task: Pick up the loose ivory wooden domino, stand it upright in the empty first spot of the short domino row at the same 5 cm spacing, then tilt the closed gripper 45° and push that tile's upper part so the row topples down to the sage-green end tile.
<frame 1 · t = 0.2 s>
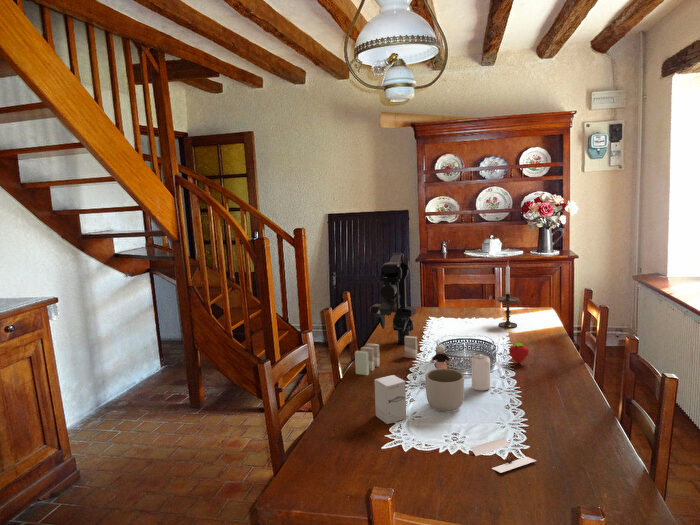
hand: (393, 330, 203), 14 cm above the table, fingers open, 9 cm apart
candlestick: (507, 326, 249), on the table
supplement box: (391, 418, 155), on the table
can: (481, 388, 175), on the table
strawberry: (518, 364, 197), on the table
grandmother figurine: (441, 377, 187), on the table
domino 3: (368, 369, 198), on the table
domino 2: (373, 365, 203), on the table
sage end domino: (362, 373, 194), on the table
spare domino: (411, 357, 210), on the table
planter: (445, 407, 161), on the table
pale pink flat slab: (503, 459, 130), on the table
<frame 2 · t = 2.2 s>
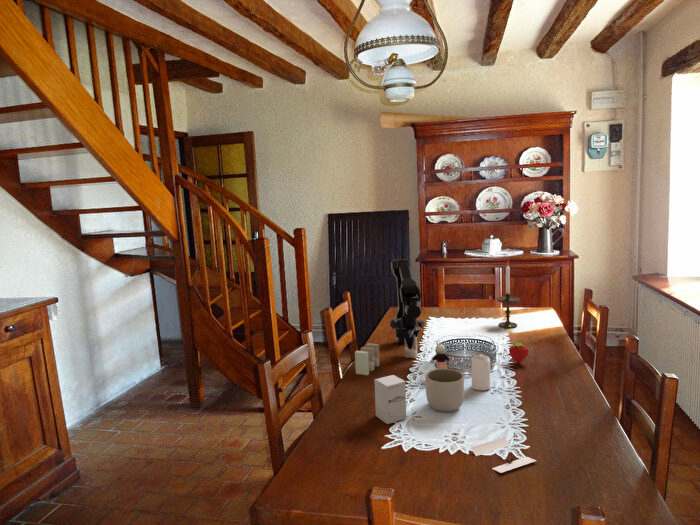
hand: (410, 348, 210), 4 cm above the table, fingers closed on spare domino, 2 cm apart
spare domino: (411, 357, 210), on the table, touching gripper
everything else where it was.
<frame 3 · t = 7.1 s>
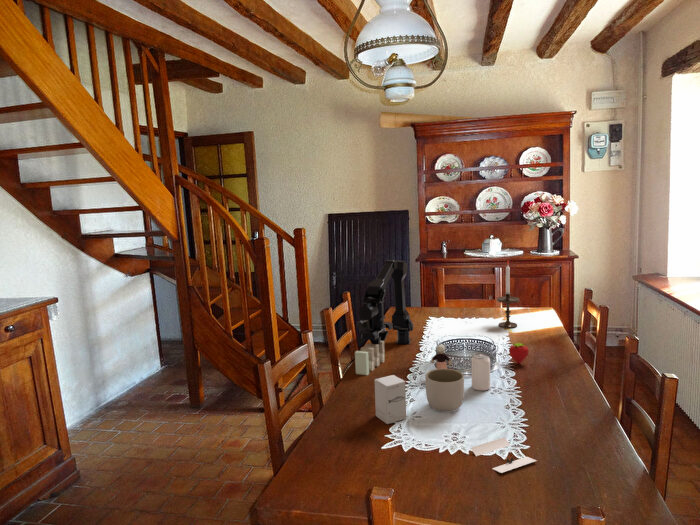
hand: (378, 350, 206), 5 cm above the table, fingers open, 4 cm apart
domino 2: (373, 365, 203), on the table, touching gripper
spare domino: (378, 361, 207), on the table
everything else where it was.
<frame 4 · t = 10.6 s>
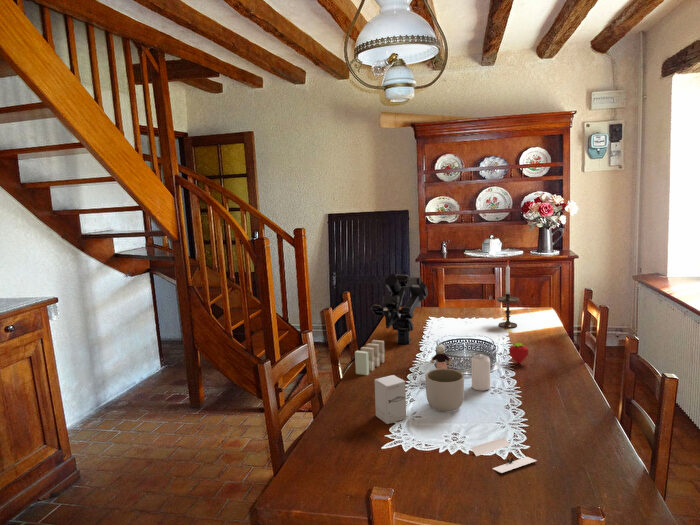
hand: (387, 328, 214), 12 cm above the table, fingers closed
domino 2: (373, 365, 203), on the table
everything else where it was.
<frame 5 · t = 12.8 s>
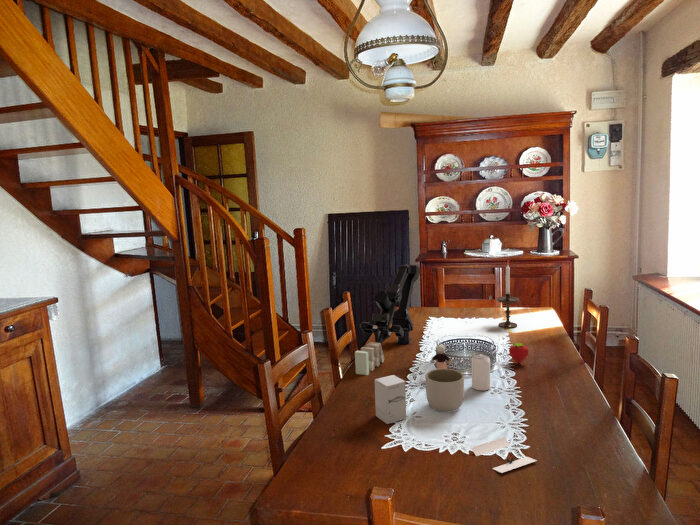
hand: (376, 346, 205), 7 cm above the table, fingers closed, pressing on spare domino
domino 2: (373, 365, 203), on the table, touching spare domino
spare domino: (378, 360, 207), on the table, tilted 22°, touching domino 2, gripper
everything else where it was.
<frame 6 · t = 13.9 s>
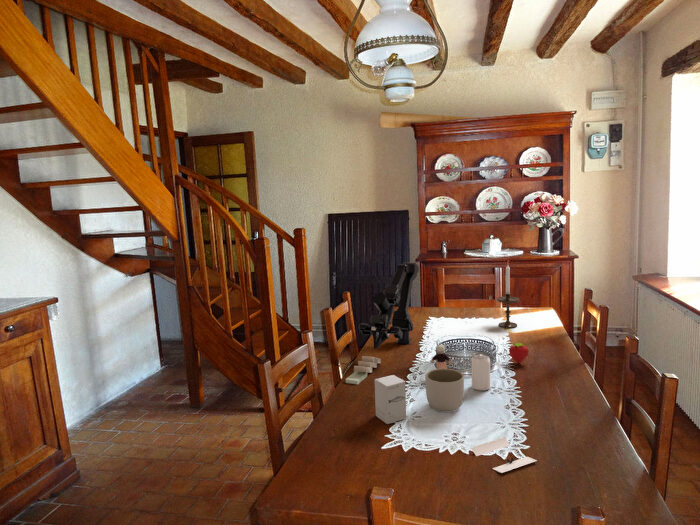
hand: (375, 348, 203), 7 cm above the table, fingers closed
domino 3: (366, 369, 196), point 1 cm above the table, tilted 69°, touching domino 2, sage end domino
domino 2: (371, 364, 201), point 1 cm above the table, tilted 68°, touching domino 3
sage end domino: (361, 374, 192), on the table, tilted 90°, touching domino 3
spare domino: (375, 360, 205), point 1 cm above the table, tilted 67°
everything else where it was.
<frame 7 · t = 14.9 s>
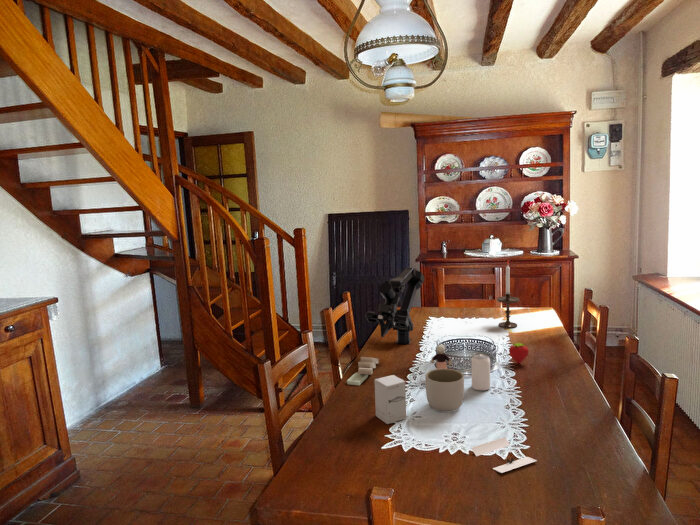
hand: (382, 336, 209), 10 cm above the table, fingers closed
domino 3: (366, 370, 194), point 1 cm above the table, tilted 73°, touching domino 2
domino 2: (369, 365, 200), point 1 cm above the table, tilted 68°, touching domino 3, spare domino
sage end domino: (362, 375, 191), on the table, tilted 90°
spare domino: (373, 360, 205), point 1 cm above the table, tilted 68°, touching domino 2
everything else where it was.
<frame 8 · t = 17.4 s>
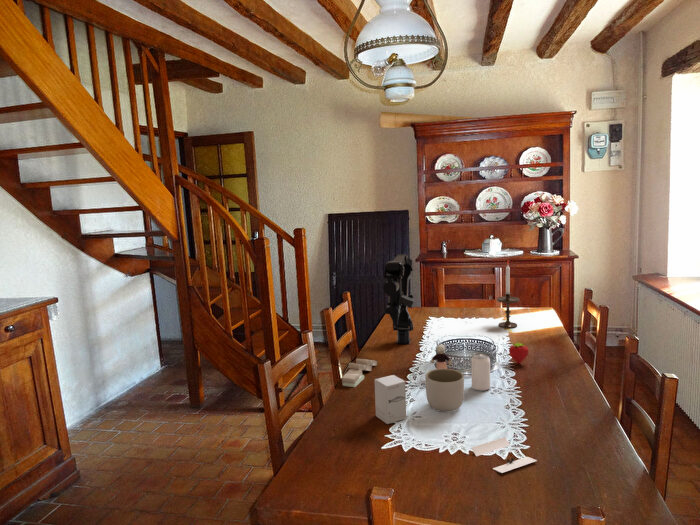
hand: (396, 324, 214), 13 cm above the table, fingers closed
domino 3: (356, 371, 190), point 2 cm above the table, tilted 90°, touching sage end domino
domino 2: (366, 367, 197), point 1 cm above the table, tilted 68°, touching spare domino
sage end domino: (358, 376, 190), on the table, tilted 90°, touching domino 3
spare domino: (371, 362, 203), point 1 cm above the table, tilted 70°, touching domino 2
everything else where it was.
at the end: sage end domino tilted 90°; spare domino tilted 70° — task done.
